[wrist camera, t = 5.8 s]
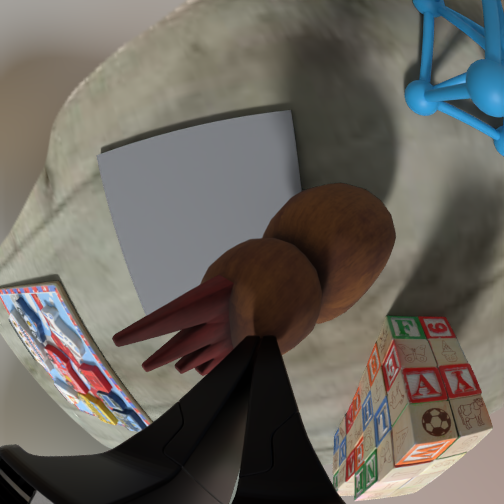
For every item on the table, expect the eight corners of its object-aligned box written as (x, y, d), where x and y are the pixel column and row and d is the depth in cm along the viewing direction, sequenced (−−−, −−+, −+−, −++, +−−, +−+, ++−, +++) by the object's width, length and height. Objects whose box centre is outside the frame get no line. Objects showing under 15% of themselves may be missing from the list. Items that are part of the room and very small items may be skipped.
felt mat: (291, 110, 16) (290, 110, 15) (311, 312, 22) (311, 316, 21) (100, 154, 19) (96, 155, 19) (148, 312, 25) (145, 315, 25)
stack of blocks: (376, 435, 29) (379, 513, 18) (333, 436, 30) (327, 517, 19) (446, 314, 20) (496, 429, 9) (384, 312, 21) (416, 448, 10)
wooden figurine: (345, 156, 16) (70, 249, 6) (425, 212, 13) (200, 445, 4) (308, 237, 20) (111, 352, 11) (369, 288, 18) (190, 456, 9)
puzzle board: (0, 286, 33) (-10, 294, 31) (63, 276, 27) (48, 288, 25) (81, 407, 45) (75, 415, 42) (164, 430, 39) (159, 442, 36)
